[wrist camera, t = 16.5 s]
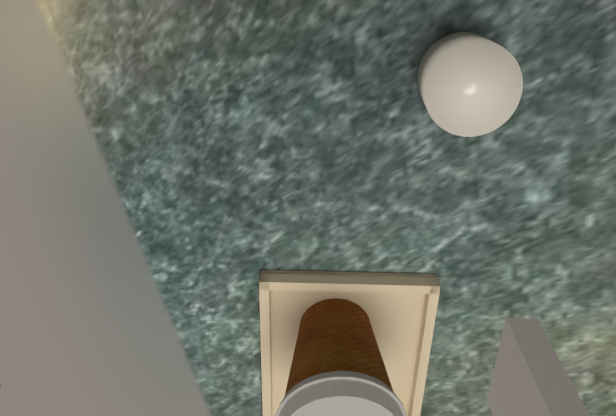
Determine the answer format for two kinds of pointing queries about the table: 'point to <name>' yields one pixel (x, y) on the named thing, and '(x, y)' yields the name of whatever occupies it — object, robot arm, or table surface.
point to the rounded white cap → (469, 84)
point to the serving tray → (382, 314)
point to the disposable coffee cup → (338, 366)
